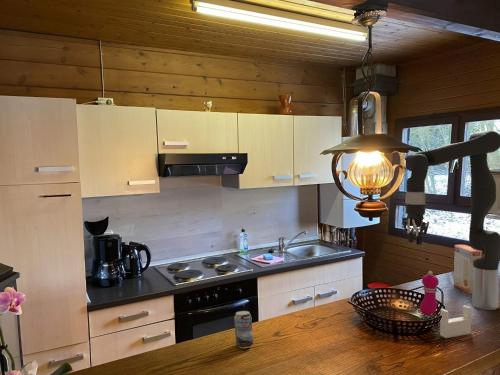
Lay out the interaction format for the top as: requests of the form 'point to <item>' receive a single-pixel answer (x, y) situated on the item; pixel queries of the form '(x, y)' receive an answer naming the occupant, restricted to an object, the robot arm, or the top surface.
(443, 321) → the u rest
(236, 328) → the beverage can
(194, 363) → the top surface
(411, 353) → the top surface
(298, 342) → the top surface
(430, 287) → the pepper mill
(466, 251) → the cracker box
